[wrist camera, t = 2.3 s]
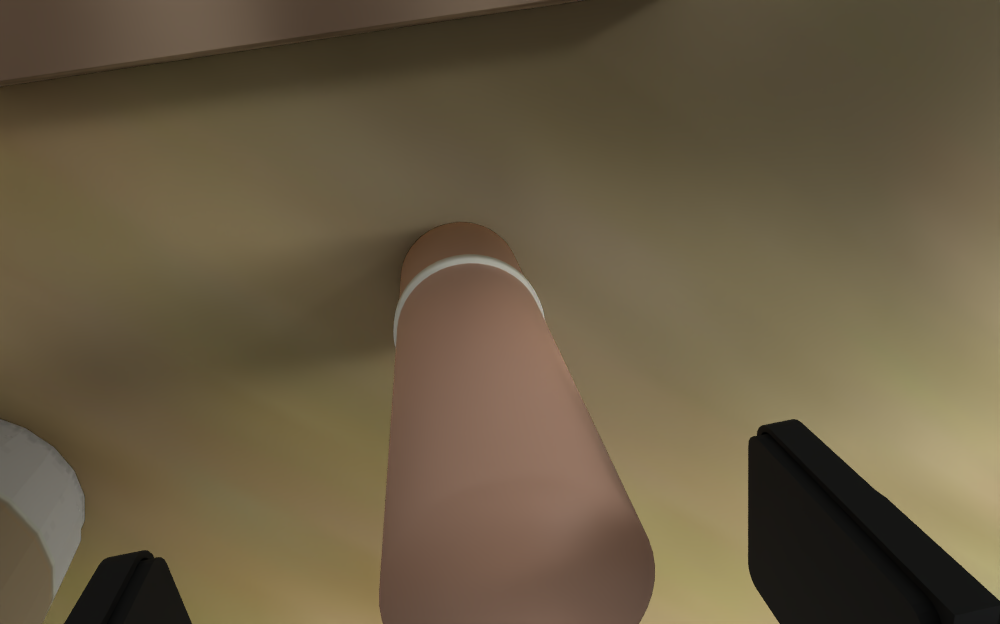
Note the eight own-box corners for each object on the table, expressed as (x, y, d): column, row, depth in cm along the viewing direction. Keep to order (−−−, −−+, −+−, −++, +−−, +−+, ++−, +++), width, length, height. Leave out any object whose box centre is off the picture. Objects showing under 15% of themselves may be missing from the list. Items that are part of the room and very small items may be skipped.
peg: (513, 209, 22) (654, 443, 9) (528, 325, 23) (667, 667, 10) (386, 230, 22) (341, 502, 9) (410, 346, 23) (403, 721, 10)
